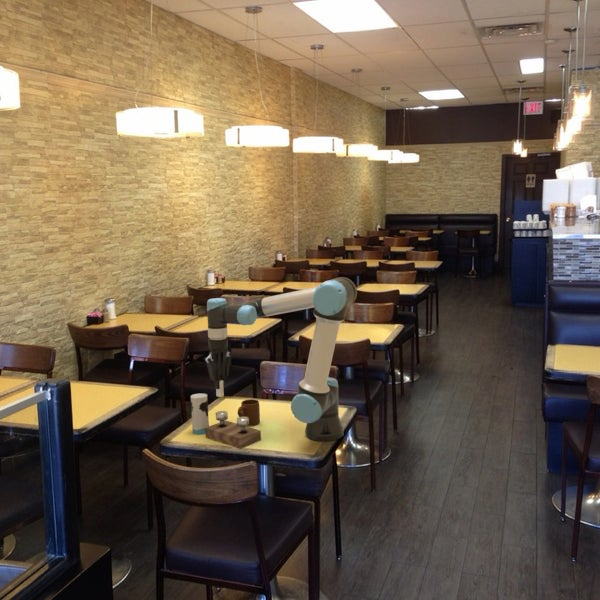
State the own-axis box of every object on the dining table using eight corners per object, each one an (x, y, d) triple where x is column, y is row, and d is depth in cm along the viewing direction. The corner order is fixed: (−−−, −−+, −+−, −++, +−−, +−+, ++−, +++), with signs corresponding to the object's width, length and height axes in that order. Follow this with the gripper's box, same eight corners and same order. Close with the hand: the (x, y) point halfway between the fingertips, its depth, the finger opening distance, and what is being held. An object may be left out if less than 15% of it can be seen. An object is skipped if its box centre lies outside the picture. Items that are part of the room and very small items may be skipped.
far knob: (230, 426, 266) (229, 412, 266) (221, 429, 263) (221, 415, 262) (222, 424, 269) (222, 410, 269) (214, 427, 266) (213, 413, 265)
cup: (212, 430, 273) (210, 394, 271) (201, 435, 268) (199, 399, 266) (200, 427, 277) (198, 392, 275) (189, 432, 272) (187, 396, 269)
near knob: (251, 433, 259) (251, 418, 258) (243, 436, 255) (242, 421, 254) (243, 430, 262) (242, 415, 261) (234, 433, 258) (234, 418, 257)
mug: (246, 430, 272) (245, 408, 270) (231, 427, 276) (230, 405, 274) (263, 422, 281) (262, 400, 280) (249, 419, 286) (248, 398, 284)
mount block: (261, 440, 260) (260, 430, 260) (240, 448, 252) (240, 438, 252) (226, 429, 273) (225, 420, 273) (205, 437, 265) (205, 427, 265)
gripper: (223, 334, 268) (225, 390, 272) (198, 339, 258) (201, 398, 262) (236, 336, 263) (238, 394, 267) (211, 342, 254) (214, 401, 257)
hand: (220, 396), depth 264 cm, fingers closed
